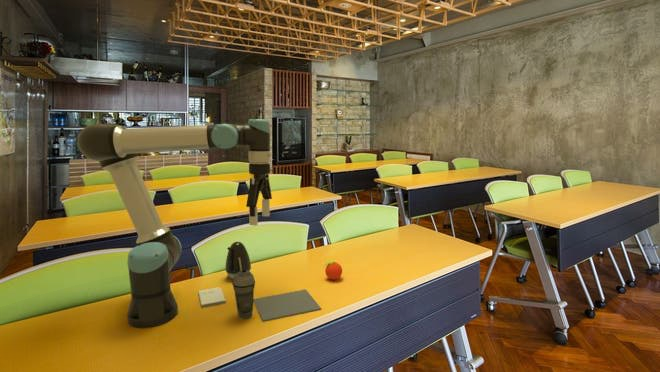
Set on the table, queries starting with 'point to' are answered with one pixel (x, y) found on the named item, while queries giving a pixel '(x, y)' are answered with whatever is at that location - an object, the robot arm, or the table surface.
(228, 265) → the black tapered dome
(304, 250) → the table surface
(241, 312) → the beverage cup
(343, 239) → the table surface
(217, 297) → the external hard drive
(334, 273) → the clementine
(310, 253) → the table surface
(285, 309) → the mat
